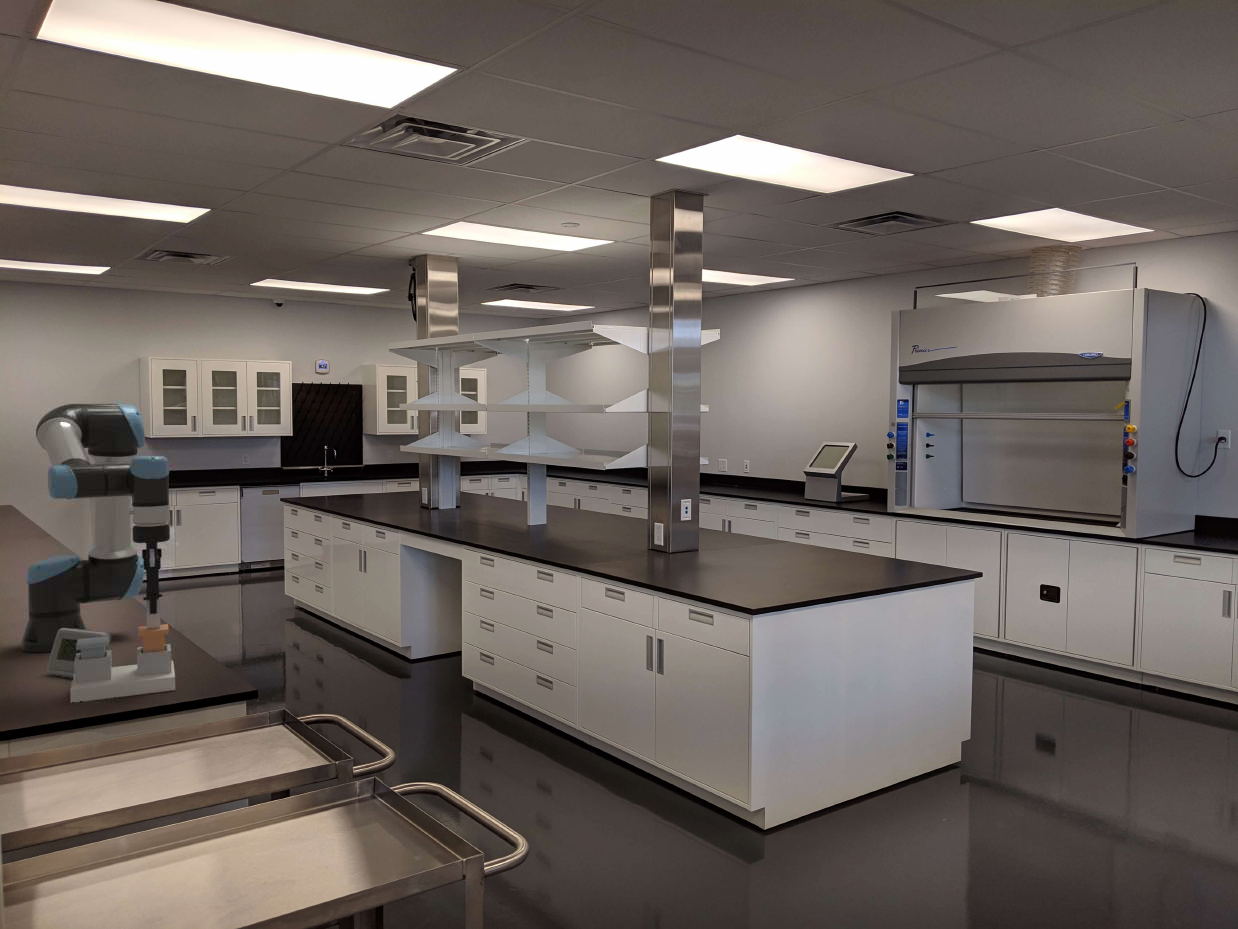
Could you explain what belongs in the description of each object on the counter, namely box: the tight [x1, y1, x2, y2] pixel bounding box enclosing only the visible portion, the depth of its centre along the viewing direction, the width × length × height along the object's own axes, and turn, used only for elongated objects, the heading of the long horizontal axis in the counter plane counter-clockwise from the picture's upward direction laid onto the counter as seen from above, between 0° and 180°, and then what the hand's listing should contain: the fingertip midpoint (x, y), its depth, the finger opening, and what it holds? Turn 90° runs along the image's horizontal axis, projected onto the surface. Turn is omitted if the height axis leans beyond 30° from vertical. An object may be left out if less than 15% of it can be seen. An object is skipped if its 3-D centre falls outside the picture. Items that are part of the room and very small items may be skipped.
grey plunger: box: [76, 636, 109, 659], centre depth 199 cm, size 6×6×8 cm
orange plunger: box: [138, 623, 170, 653], centre depth 205 cm, size 6×6×8 cm
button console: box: [69, 643, 176, 704], centre depth 202 cm, size 15×20×8 cm
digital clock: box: [46, 628, 112, 679], centre depth 211 cm, size 16×9×11 cm, turn 58°
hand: (153, 627), depth 204 cm, fingers closed
